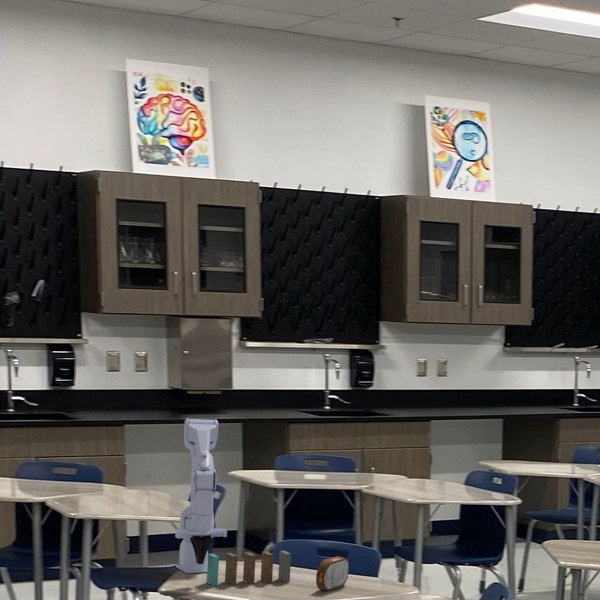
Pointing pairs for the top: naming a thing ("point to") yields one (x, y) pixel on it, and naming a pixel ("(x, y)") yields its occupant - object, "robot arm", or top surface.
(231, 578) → the domino
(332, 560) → the tin
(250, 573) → the domino
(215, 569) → the teal rectangular block
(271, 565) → the domino
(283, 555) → the domino
